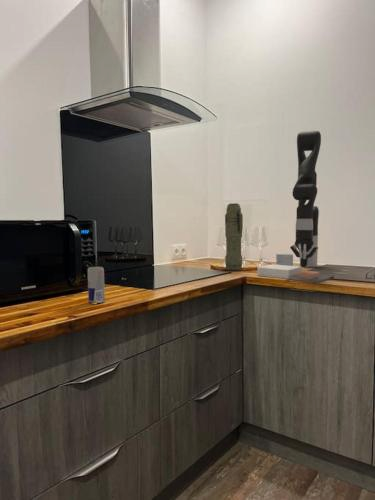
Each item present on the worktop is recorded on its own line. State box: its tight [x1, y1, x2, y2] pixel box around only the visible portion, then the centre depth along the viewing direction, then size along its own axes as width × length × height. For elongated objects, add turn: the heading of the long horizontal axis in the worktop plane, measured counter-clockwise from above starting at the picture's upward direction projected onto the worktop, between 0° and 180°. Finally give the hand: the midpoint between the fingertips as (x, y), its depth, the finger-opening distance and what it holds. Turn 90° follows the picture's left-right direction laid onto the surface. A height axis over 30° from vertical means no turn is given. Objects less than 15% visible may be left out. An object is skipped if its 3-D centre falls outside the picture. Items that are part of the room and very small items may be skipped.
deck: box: [256, 264, 303, 280], centre depth 181 cm, size 14×16×4 cm
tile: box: [298, 270, 320, 279], centre depth 172 cm, size 9×6×2 cm, turn 139°
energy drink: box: [87, 266, 106, 304], centre depth 128 cm, size 5×5×12 cm
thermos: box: [224, 202, 244, 272], centre depth 202 cm, size 9×12×35 cm
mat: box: [287, 274, 335, 284], centre depth 171 cm, size 18×14×1 cm
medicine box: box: [275, 253, 294, 266], centre depth 196 cm, size 8×4×9 cm, turn 84°
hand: (303, 266), depth 173 cm, fingers closed
